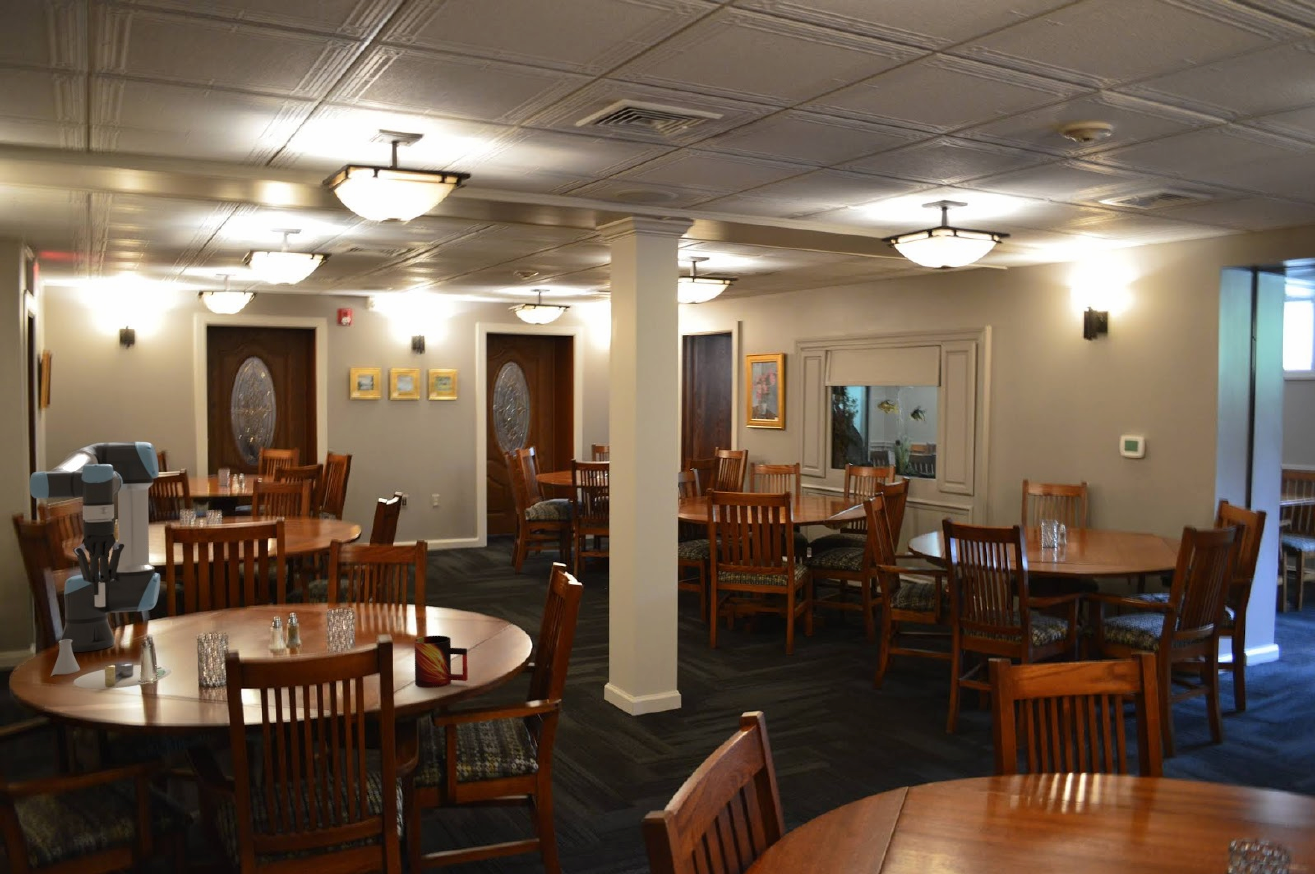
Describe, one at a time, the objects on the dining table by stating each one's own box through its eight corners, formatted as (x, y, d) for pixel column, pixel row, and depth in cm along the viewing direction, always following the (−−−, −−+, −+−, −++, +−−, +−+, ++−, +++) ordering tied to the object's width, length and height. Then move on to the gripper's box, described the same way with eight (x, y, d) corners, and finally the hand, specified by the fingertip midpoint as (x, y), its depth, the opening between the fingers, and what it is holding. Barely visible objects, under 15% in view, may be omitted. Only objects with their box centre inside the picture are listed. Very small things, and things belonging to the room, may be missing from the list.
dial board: (93, 671, 288) (93, 666, 288) (182, 667, 292) (182, 662, 292) (58, 695, 264) (58, 690, 264) (155, 690, 268) (155, 685, 268)
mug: (467, 685, 273) (467, 641, 272) (415, 689, 269) (415, 644, 269) (465, 675, 282) (464, 633, 282) (414, 679, 278) (414, 636, 278)
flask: (67, 679, 280) (66, 644, 279) (45, 678, 281) (44, 642, 281) (86, 672, 287) (86, 638, 286) (65, 671, 288) (64, 636, 288)
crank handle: (116, 673, 280) (116, 654, 280) (136, 672, 281) (135, 654, 281) (98, 686, 267) (98, 667, 267) (118, 685, 268) (118, 666, 267)
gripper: (80, 523, 267) (82, 611, 267) (129, 519, 278) (130, 603, 278) (66, 521, 271) (68, 608, 272) (115, 518, 282) (117, 601, 282)
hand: (100, 606), depth 275 cm, fingers closed
